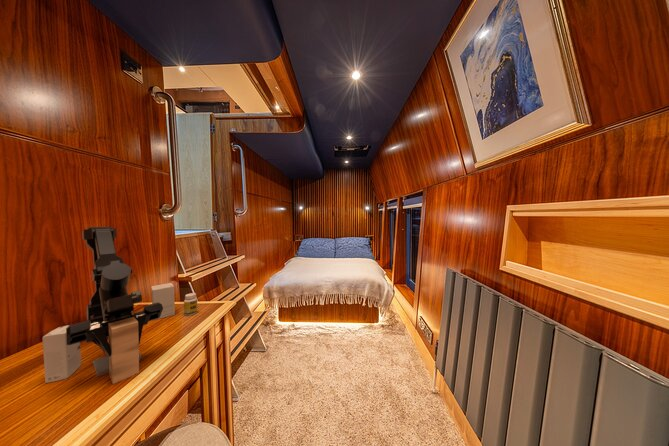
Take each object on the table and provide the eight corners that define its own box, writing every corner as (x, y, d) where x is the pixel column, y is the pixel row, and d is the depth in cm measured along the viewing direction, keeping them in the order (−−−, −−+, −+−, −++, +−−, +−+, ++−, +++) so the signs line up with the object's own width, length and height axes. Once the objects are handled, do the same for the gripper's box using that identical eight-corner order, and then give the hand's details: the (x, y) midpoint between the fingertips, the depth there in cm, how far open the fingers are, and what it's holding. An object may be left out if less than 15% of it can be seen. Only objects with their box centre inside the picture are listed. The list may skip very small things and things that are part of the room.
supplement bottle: (190, 316, 92) (190, 296, 92) (181, 315, 93) (181, 296, 93) (200, 311, 97) (199, 293, 97) (191, 310, 98) (190, 292, 98)
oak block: (109, 375, 58) (108, 323, 58) (134, 365, 62) (133, 316, 62) (113, 384, 55) (111, 329, 55) (139, 373, 59) (138, 322, 59)
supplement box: (173, 309, 99) (172, 282, 99) (175, 315, 94) (174, 286, 93) (151, 314, 94) (151, 285, 94) (152, 320, 89) (152, 290, 88)
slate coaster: (93, 363, 63) (93, 360, 63) (134, 348, 70) (134, 345, 70) (97, 376, 58) (97, 373, 58) (142, 358, 65) (141, 356, 65)
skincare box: (68, 378, 57) (66, 333, 57) (43, 384, 55) (40, 337, 55) (82, 364, 63) (80, 322, 62) (60, 369, 61) (58, 326, 60)
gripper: (64, 293, 53) (69, 355, 46) (160, 276, 68) (173, 321, 61) (64, 316, 58) (68, 375, 51) (153, 295, 73) (165, 339, 66)
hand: (124, 350), depth 57 cm, fingers closed on oak block, 5 cm apart
